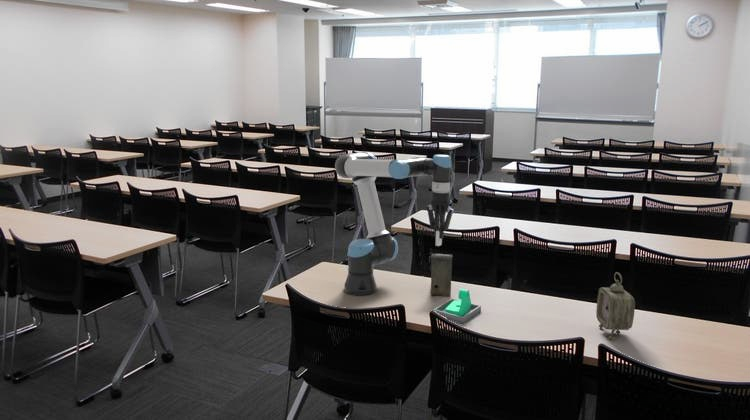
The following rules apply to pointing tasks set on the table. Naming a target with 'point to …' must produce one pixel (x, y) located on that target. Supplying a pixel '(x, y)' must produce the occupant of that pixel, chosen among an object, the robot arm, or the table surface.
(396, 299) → the table surface
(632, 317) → the tabletop clock
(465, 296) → the camera mount
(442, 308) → the tray
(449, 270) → the vintage camera
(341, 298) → the table surface
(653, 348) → the table surface
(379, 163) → the robot arm
